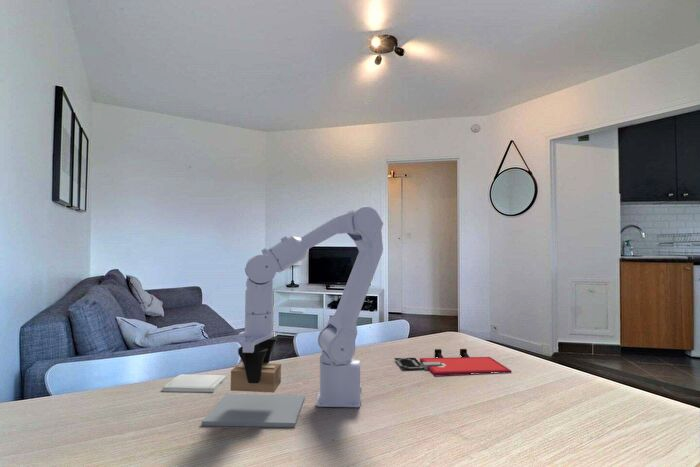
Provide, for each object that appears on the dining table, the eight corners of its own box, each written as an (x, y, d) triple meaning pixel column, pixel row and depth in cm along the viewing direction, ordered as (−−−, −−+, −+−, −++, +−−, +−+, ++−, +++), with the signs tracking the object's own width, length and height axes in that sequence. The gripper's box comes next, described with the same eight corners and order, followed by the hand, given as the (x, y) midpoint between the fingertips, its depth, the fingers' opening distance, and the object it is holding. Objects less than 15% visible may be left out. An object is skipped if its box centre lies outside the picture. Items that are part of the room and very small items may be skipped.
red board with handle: (392, 359, 105) (406, 378, 90) (392, 349, 105) (407, 368, 90) (483, 357, 109) (511, 375, 94) (483, 348, 109) (511, 365, 94)
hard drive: (162, 386, 80) (214, 387, 80) (180, 373, 89) (227, 374, 88) (162, 393, 80) (213, 394, 80) (180, 380, 89) (227, 380, 88)
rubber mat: (304, 399, 77) (304, 395, 77) (295, 427, 65) (295, 422, 65) (225, 397, 77) (225, 394, 77) (201, 425, 65) (201, 421, 65)
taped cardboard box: (240, 380, 74) (240, 361, 74) (280, 382, 73) (281, 362, 73) (230, 390, 69) (231, 369, 69) (273, 392, 68) (274, 371, 68)
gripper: (251, 305, 79) (249, 364, 79) (227, 318, 65) (225, 391, 64) (281, 306, 79) (280, 365, 78) (264, 319, 64) (262, 392, 64)
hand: (257, 377), depth 71 cm, fingers closed on taped cardboard box, 5 cm apart
